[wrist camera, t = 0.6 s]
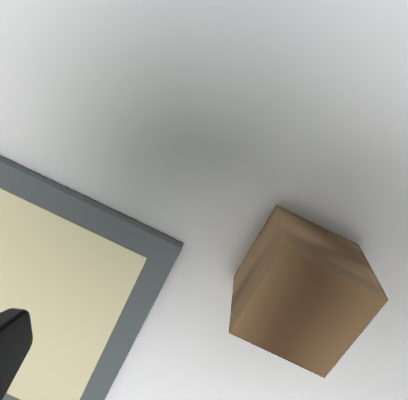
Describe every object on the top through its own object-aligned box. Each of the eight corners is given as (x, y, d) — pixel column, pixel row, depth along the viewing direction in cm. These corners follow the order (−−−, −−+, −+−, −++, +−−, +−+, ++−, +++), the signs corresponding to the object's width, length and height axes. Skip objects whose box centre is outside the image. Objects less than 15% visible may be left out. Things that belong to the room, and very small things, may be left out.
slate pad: (183, 243, 22) (181, 249, 21) (85, 434, 28) (82, 442, 28) (-44, 134, 21) (-53, 136, 21) (-90, 355, 28) (-98, 362, 27)
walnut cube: (358, 245, 21) (388, 299, 16) (310, 311, 23) (324, 377, 18) (276, 204, 21) (282, 248, 16) (234, 275, 22) (229, 332, 18)
